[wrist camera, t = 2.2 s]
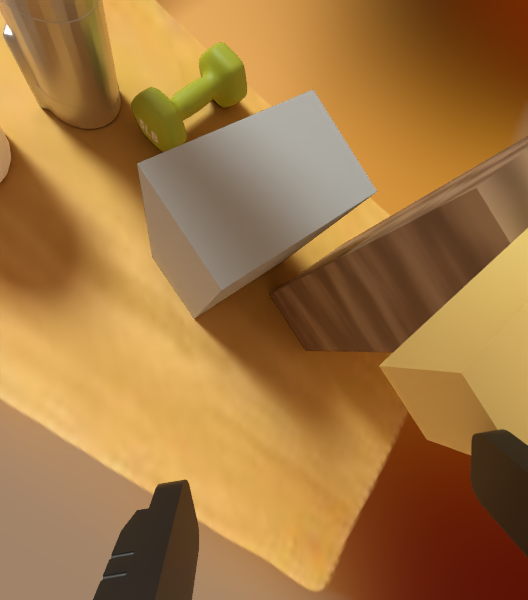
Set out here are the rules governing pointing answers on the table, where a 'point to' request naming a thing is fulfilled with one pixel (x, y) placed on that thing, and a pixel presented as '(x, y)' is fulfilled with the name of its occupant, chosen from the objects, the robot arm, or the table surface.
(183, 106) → the dumbbell
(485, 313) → the rail
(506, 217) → the stand
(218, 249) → the block
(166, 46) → the table surface
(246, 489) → the table surface
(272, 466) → the table surface
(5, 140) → the white jar
